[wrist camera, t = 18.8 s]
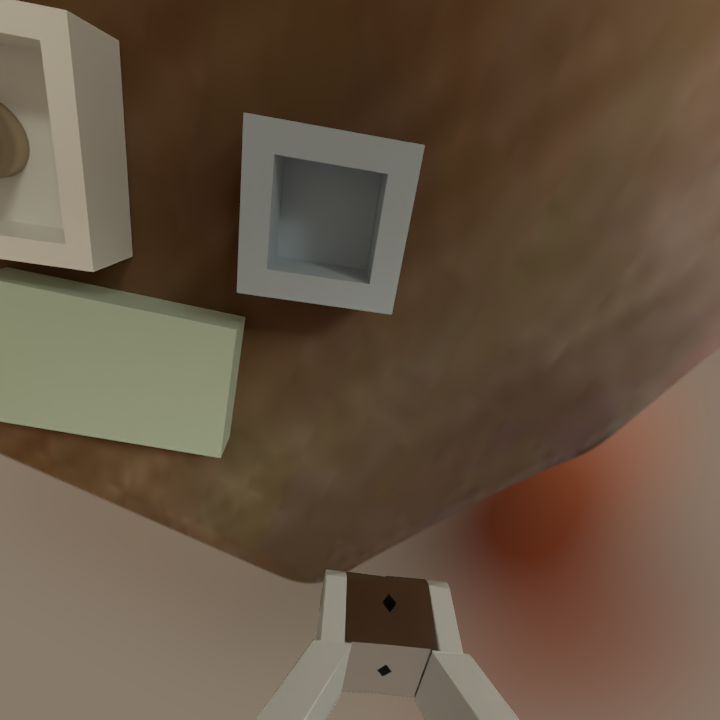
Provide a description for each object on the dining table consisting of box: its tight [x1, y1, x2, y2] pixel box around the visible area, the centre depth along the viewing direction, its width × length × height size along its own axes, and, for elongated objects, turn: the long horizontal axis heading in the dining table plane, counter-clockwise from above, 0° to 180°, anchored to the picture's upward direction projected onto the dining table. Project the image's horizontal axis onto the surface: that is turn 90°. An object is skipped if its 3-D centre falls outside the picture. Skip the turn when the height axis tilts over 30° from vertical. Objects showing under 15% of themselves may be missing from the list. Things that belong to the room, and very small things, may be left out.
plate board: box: [0, 267, 245, 458], centre depth 23 cm, size 12×8×2 cm, turn 77°
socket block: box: [237, 113, 425, 315], centre depth 19 cm, size 7×7×4 cm
